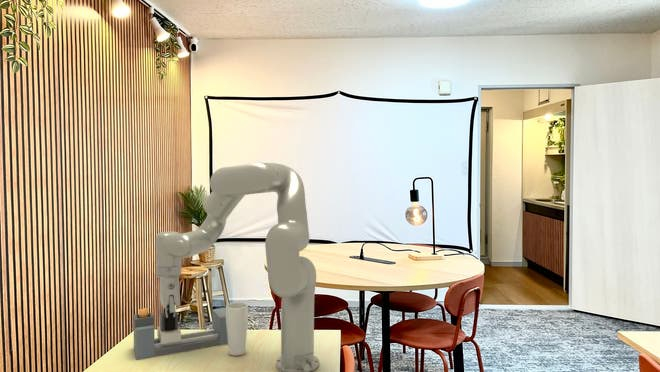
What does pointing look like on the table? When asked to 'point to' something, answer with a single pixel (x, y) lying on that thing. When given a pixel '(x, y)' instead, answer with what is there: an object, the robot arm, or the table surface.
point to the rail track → (190, 341)
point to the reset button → (143, 313)
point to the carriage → (168, 331)
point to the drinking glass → (236, 327)
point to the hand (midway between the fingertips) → (169, 327)
